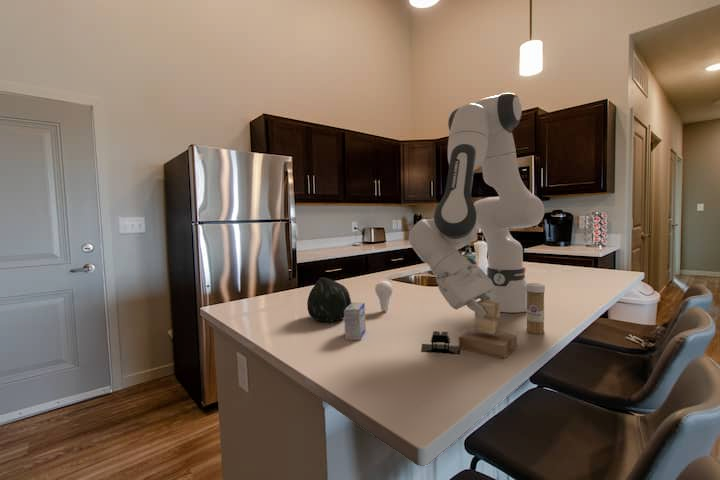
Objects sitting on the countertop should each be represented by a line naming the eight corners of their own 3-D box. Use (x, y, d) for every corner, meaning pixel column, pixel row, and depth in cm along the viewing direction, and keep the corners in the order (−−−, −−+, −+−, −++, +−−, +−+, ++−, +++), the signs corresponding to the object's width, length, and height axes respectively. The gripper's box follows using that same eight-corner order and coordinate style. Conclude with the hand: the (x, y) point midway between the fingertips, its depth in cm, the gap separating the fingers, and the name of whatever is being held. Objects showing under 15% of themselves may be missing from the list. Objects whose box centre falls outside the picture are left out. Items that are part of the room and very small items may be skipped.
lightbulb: (375, 309, 126) (374, 279, 125) (392, 309, 125) (391, 278, 125) (376, 314, 120) (375, 282, 119) (393, 313, 119) (392, 282, 119)
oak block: (482, 325, 90) (482, 299, 89) (499, 329, 87) (499, 301, 86) (475, 330, 87) (474, 302, 86) (493, 334, 84) (492, 305, 83)
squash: (360, 297, 123) (331, 266, 122) (356, 310, 108) (323, 275, 107) (332, 322, 125) (303, 292, 124) (324, 339, 110) (291, 305, 110)
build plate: (465, 347, 89) (465, 330, 89) (467, 359, 82) (466, 340, 82) (417, 344, 92) (416, 327, 92) (414, 355, 85) (413, 337, 85)
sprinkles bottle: (526, 333, 96) (526, 285, 95) (526, 328, 100) (526, 282, 99) (545, 335, 94) (545, 286, 93) (543, 329, 98) (544, 282, 97)
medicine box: (360, 340, 95) (359, 309, 94) (344, 340, 96) (343, 309, 95) (365, 331, 103) (364, 302, 102) (351, 330, 104) (350, 302, 103)
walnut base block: (474, 337, 94) (474, 326, 94) (516, 346, 87) (516, 335, 87) (459, 348, 87) (459, 336, 87) (503, 358, 80) (503, 346, 80)
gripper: (441, 268, 82) (481, 315, 77) (476, 258, 98) (512, 297, 92) (425, 284, 86) (463, 331, 80) (461, 272, 101) (495, 311, 95)
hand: (489, 312), depth 86 cm, fingers closed on oak block, 4 cm apart
